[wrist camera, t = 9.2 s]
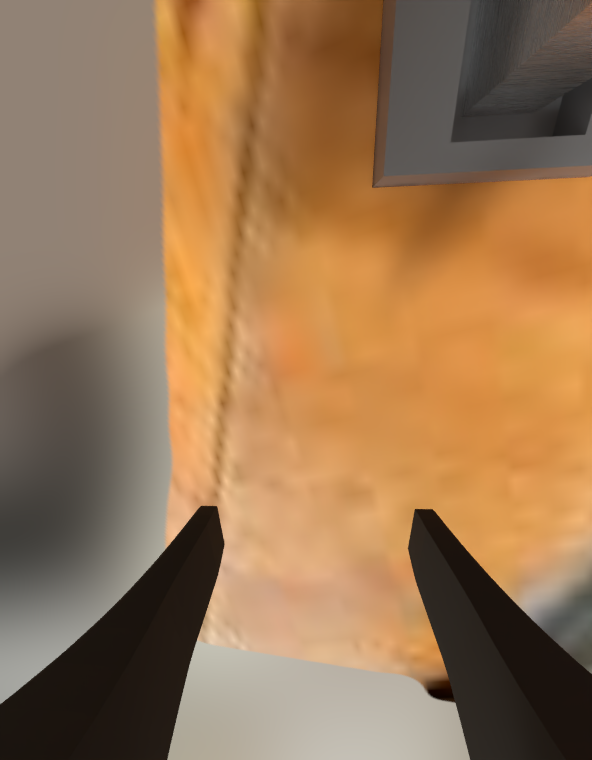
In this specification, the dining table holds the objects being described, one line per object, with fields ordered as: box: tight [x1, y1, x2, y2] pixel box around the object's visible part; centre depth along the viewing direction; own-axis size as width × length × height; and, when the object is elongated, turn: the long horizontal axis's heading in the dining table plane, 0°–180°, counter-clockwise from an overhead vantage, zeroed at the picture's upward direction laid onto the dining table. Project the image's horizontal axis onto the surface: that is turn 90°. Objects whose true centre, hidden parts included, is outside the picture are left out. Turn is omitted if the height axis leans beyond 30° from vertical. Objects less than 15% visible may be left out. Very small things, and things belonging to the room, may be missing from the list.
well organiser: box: [372, 0, 592, 188], centre depth 11 cm, size 10×10×2 cm
